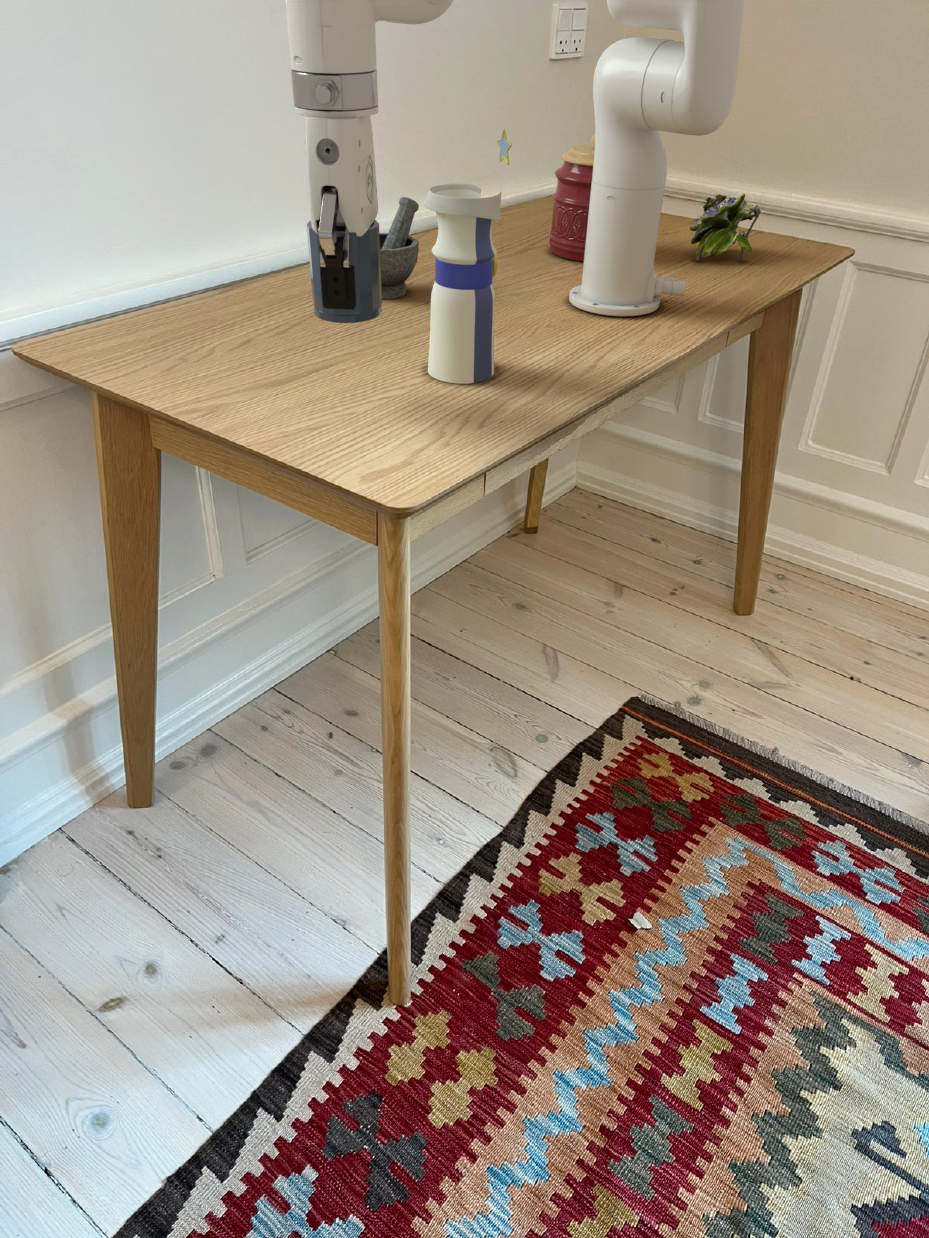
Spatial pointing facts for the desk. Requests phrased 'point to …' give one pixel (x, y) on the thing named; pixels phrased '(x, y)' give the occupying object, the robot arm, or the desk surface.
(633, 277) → the robot arm
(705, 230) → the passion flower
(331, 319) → the blue cup
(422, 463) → the desk surface
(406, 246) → the mortar and pestle
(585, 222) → the kitchen canister
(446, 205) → the water bottle
